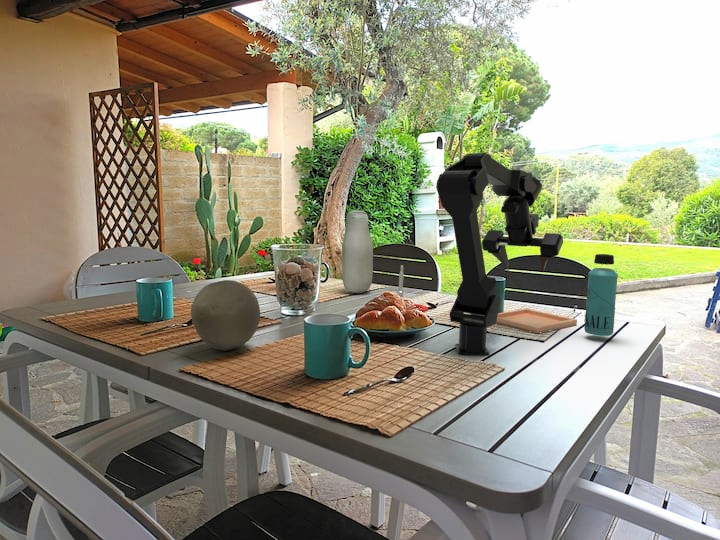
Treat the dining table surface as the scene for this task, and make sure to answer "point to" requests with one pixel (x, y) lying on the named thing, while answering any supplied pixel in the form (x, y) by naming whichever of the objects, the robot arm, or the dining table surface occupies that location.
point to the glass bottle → (357, 253)
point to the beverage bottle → (601, 298)
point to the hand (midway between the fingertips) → (525, 268)
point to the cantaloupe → (225, 314)
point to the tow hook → (400, 291)
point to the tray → (534, 320)
